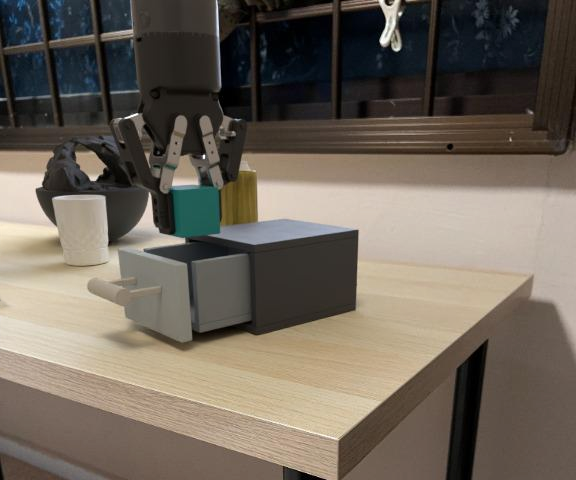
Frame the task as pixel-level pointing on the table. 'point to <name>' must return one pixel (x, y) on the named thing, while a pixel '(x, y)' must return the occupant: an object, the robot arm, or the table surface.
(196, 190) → the teal cube
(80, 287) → the table surface
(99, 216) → the white cup
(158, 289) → the pulled-out drawer
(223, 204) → the vase
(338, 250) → the grey drawer cabinet
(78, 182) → the bowl of black rocks
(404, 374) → the table surface
